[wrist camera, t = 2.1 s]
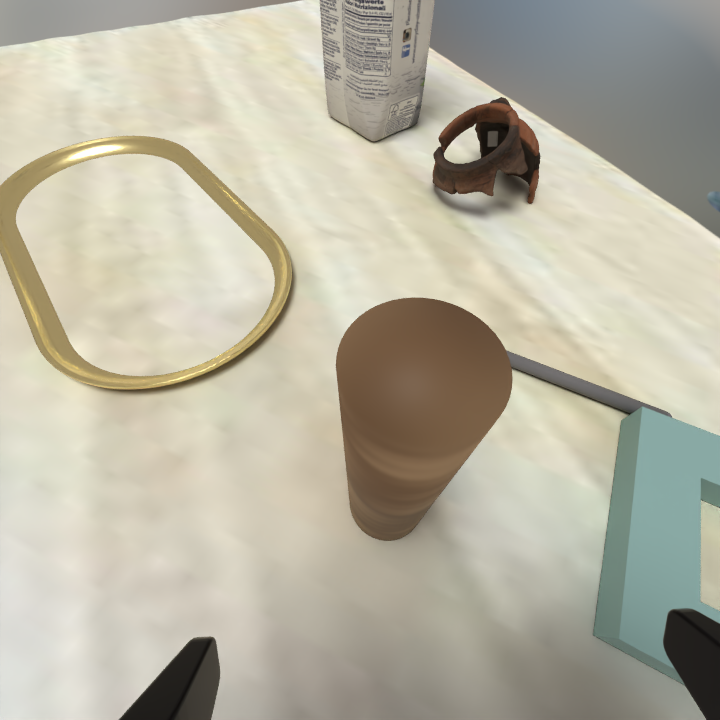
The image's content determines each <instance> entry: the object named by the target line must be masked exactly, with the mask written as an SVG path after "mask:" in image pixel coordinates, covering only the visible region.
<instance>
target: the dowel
mask: <svg viewBox="0 0 720 720" xmlns="http://www.w3.org/2000/svg"><path fill="white" fill-rule="evenodd" d="M336 371H337V381H338V391H339V401H340V411H341V421H342V431H343V441H344V451H345V461H346V471H347V480H348V490H349V500H350V509H351V513H352V516H353V518H354V520H355V522H356V523H357V525H358V526H359V527H360V528H361V530H362V531H364V532H365V533H366V534H368V535H369V536H371V537H373V538H375V539H379V540H384V541H391V540H396V539H400V538H402V537H404V536H406V535H407V534H409V533H410V532H411V531H412V530H413V529H414V528H415V526H416V525H417V524H418V522H419V521H420V520H421V519H422V517H423V516H424V515H425V513H426V512H427V511H428V509H429V508H430V507H431V505H432V504H433V503H434V502H435V500H436V499H437V498H438V496H439V495H440V494H441V492H442V491H443V490H444V489H445V487H446V486H447V485H448V483H449V482H450V481H451V479H452V478H453V477H454V475H455V474H456V473H457V472H458V470H459V469H460V468H461V466H462V465H463V464H464V462H465V461H466V460H467V459H468V457H469V456H470V455H471V453H472V452H473V451H474V449H475V448H476V447H477V445H478V444H479V443H480V442H481V440H482V439H483V438H484V436H485V435H486V434H487V432H488V431H489V430H490V429H491V427H492V426H493V425H494V423H495V422H496V421H497V419H498V418H499V417H500V415H501V414H502V412H503V411H504V409H505V407H506V405H507V403H508V400H509V398H510V394H511V390H512V368H511V364H510V360H509V357H508V355H507V352H506V350H505V348H504V346H503V344H502V343H501V341H500V340H499V338H498V337H497V336H496V334H495V333H494V332H493V331H492V330H491V329H490V328H489V327H488V326H487V325H486V324H485V323H484V322H483V321H482V320H480V319H479V318H478V317H476V316H475V315H473V314H472V313H470V312H468V311H466V310H464V309H463V308H460V307H458V306H456V305H453V304H450V303H447V302H444V301H440V300H435V299H428V298H403V299H397V300H392V301H389V302H385V303H382V304H380V305H378V306H375V307H373V308H372V309H370V310H368V311H366V312H365V313H364V314H362V315H361V316H360V317H358V318H357V319H356V320H355V321H354V322H353V323H352V324H351V326H350V327H349V328H348V329H347V331H346V332H345V334H344V336H343V338H342V340H341V342H340V345H339V348H338V352H337V358H336Z"/></svg>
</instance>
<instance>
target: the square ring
mask: <svg viewBox="0 0 720 720" xmlns="http://www.w3.org/2000/svg"><path fill="white" fill-rule="evenodd" d="M701 500H703V501H706V502H708V503H710V504H713V505H715V506H717V507H720V436H718V435H716V434H713V433H710V432H708V431H705V430H702V429H700V428H697V427H695V426H692V425H689V424H687V423H684V422H682V421H679V420H676V419H674V418H671V417H669V416H666V415H663V414H661V413H658V412H656V411H653V410H650V409H648V408H645V407H643V406H642V407H641V408H639V409H638V410H636V411H635V412H633V413H632V414H631V415H629V416H628V417H626V418H625V419H623V420H622V421H621V428H620V436H619V443H618V451H617V458H616V466H615V474H614V481H613V489H612V496H611V504H610V512H609V519H608V527H607V534H606V542H605V550H604V557H603V565H602V572H601V580H600V587H599V595H598V603H597V610H596V618H595V625H594V633H593V635H594V636H596V637H598V638H599V639H601V640H603V641H605V642H607V643H609V644H610V645H612V646H614V647H616V648H618V649H620V650H621V651H623V652H625V653H627V654H629V655H631V656H632V657H634V658H636V659H638V660H640V661H642V662H643V663H645V664H647V665H649V666H651V667H653V668H654V669H656V670H658V671H660V672H662V673H664V674H665V675H667V676H669V677H671V678H673V679H675V680H676V681H678V682H680V683H682V684H684V683H683V681H682V679H681V678H680V676H679V675H678V673H677V671H676V670H675V668H674V667H673V665H672V663H671V662H670V660H669V658H668V657H667V655H666V652H665V650H664V646H663V636H664V631H665V625H666V619H667V614H668V612H669V611H670V610H671V609H681V608H690V609H694V610H696V611H698V612H700V613H702V614H704V615H706V616H707V617H709V618H711V619H713V620H714V621H716V622H718V623H720V611H718V610H716V609H714V608H712V607H710V606H708V605H706V604H704V603H702V602H700V548H701ZM684 685H685V684H684Z"/></svg>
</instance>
